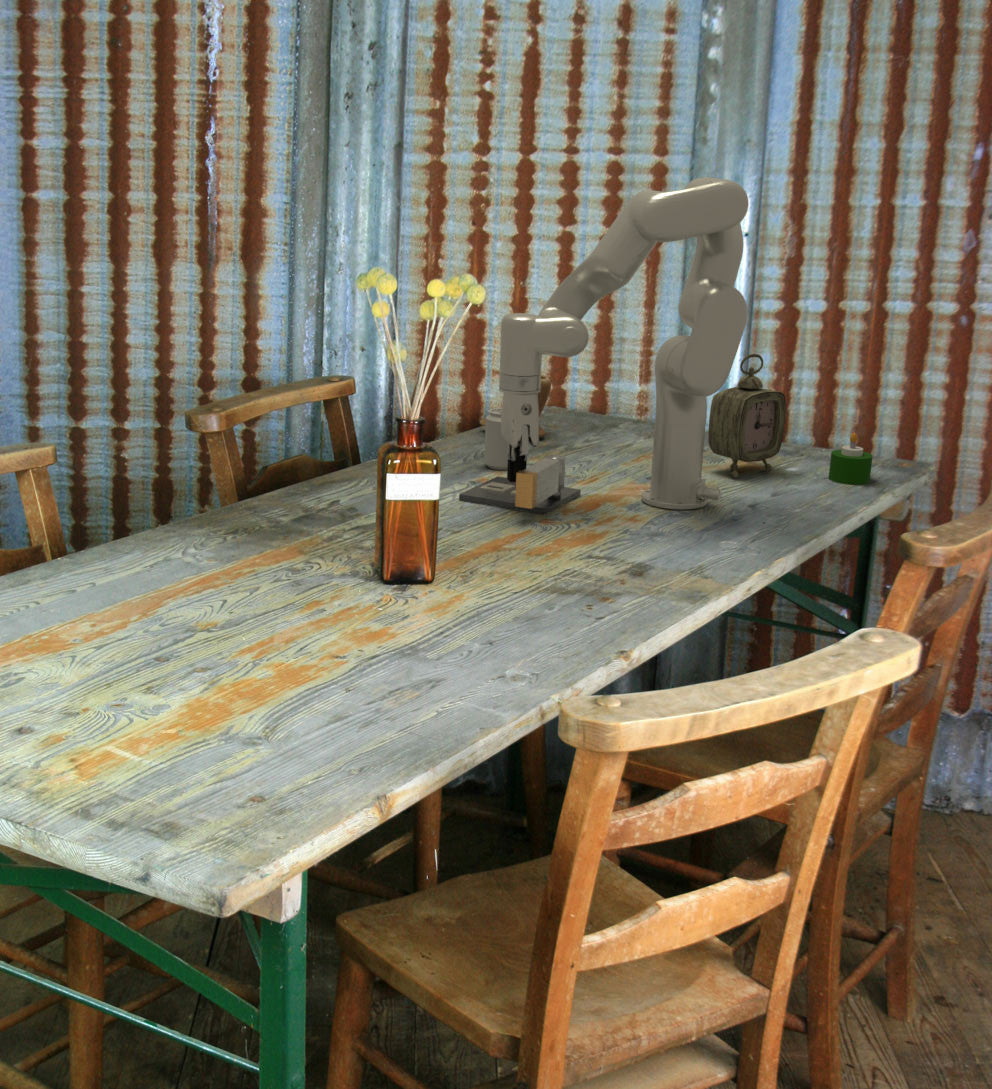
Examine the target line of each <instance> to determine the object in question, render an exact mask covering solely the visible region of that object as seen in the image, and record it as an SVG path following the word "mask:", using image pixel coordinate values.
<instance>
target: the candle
mask: <svg viewBox="0 0 992 1089" xmlns="http://www.w3.org/2000/svg"><path fill="white" fill-rule="evenodd" d="M849 441H850V444H849V445H844V446H841V449H835V450H833V451H831V454H830V462H829V470H828V471H829V472H828V480H829V481H832V482H833V483H837V484H843V485H851V486H852V485H853V486H861V485H862V486H863V485H868V484H869V483H870V481H871V473H872V472H871V471H872V463H873V454H871V453H869V452H867V451H864V447H861V446H856V445H857V441H858V435H857V433H856V432H853V433H852V434H851V435H850V437H849Z"/></svg>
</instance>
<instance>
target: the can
mask: <svg viewBox="0 0 992 1089" xmlns="http://www.w3.org/2000/svg"><path fill="white" fill-rule="evenodd" d="M488 412H489V413H488V414H487V416H486V417H485V418H486V427H485V426H484V428H485V433H484V435H485V436H484V459H483V460H484V461H483V462H484V464H485V465H486V466H487V467H488V468H490V469H492V470H498V471H507V466H508V443H507V441H506V440H505V439H504V438H503V437H502V434H501V416H502V407H496V408H491V409H489V410H488Z"/></svg>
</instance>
